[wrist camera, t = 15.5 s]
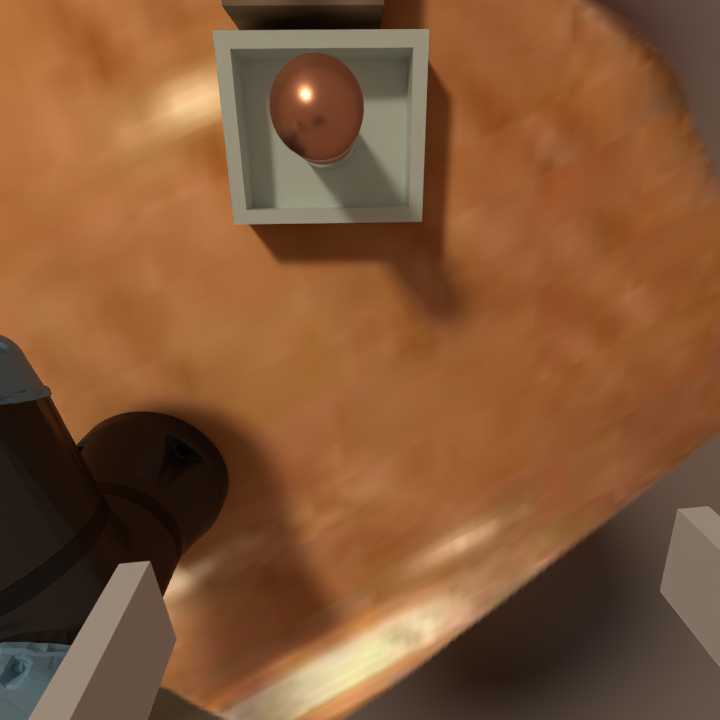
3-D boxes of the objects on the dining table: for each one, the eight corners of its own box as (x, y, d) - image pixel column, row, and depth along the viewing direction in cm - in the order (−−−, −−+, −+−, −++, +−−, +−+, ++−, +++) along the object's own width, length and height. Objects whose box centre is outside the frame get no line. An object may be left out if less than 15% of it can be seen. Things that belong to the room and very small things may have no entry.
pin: (299, 169, 35) (273, 160, 22) (295, 104, 33) (265, 52, 20) (355, 169, 35) (364, 159, 22) (355, 104, 33) (363, 52, 20)
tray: (245, 220, 37) (234, 224, 33) (228, 47, 32) (212, 30, 29) (414, 217, 37) (421, 221, 33) (420, 46, 33) (429, 29, 29)
